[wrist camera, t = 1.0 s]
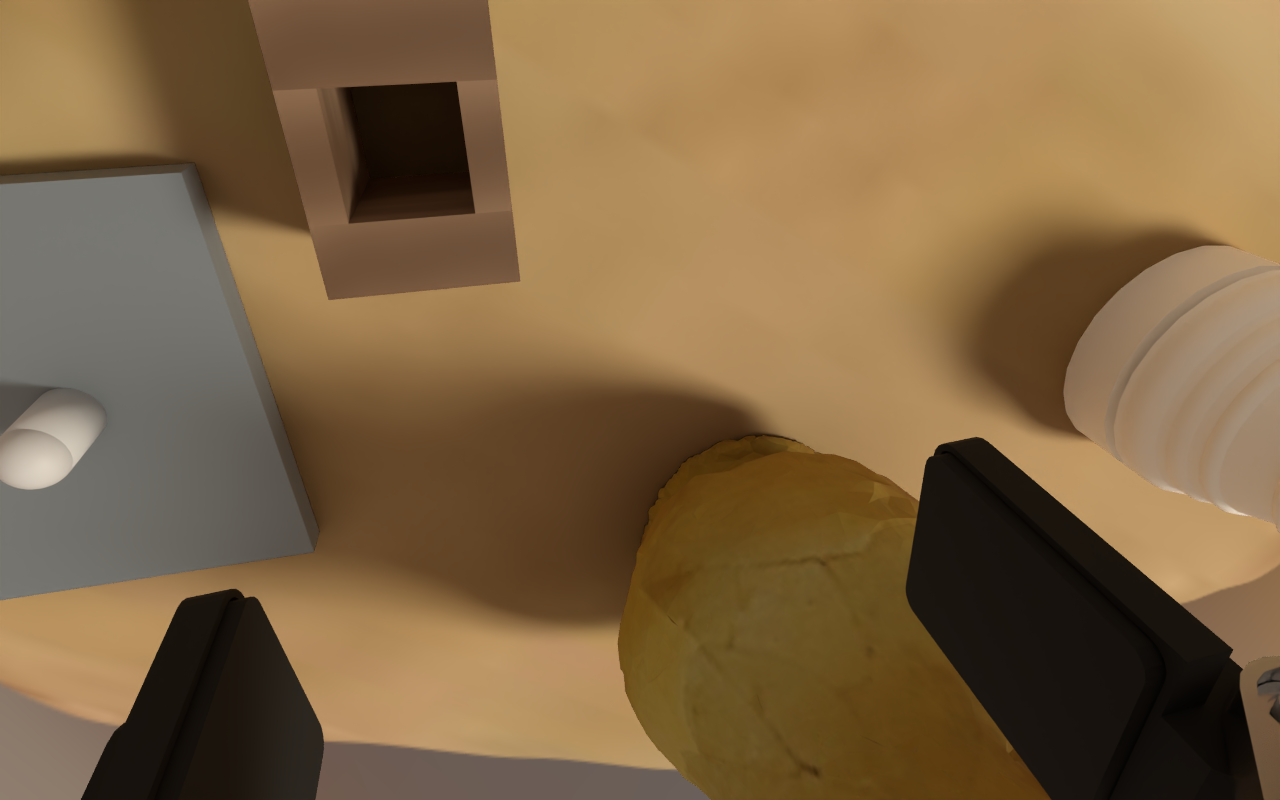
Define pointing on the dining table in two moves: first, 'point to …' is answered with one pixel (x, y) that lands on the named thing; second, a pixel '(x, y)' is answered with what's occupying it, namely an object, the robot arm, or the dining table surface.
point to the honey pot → (1189, 379)
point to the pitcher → (798, 639)
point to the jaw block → (334, 157)
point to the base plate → (131, 389)
